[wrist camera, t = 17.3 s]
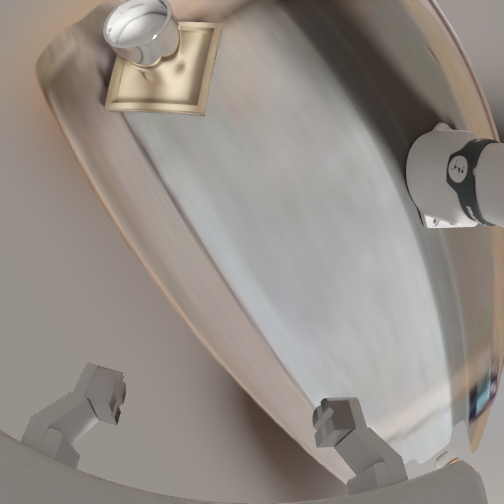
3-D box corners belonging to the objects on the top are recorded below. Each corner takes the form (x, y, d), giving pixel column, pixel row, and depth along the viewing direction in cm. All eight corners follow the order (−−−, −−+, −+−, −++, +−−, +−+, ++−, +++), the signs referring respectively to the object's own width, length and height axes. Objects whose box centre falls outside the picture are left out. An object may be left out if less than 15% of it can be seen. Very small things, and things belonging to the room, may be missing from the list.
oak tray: (221, 31, 30) (221, 23, 28) (204, 115, 34) (202, 112, 32) (131, 30, 29) (126, 23, 26) (111, 111, 32) (104, 108, 30)
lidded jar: (434, 464, 78) (441, 477, 69) (430, 461, 75) (439, 475, 66) (452, 450, 77) (460, 463, 68) (450, 446, 74) (459, 459, 65)
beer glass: (160, 40, 29) (131, -14, 15) (201, 57, 31) (189, 2, 17) (132, 79, 31) (87, 39, 16) (172, 97, 32) (142, 59, 18)
